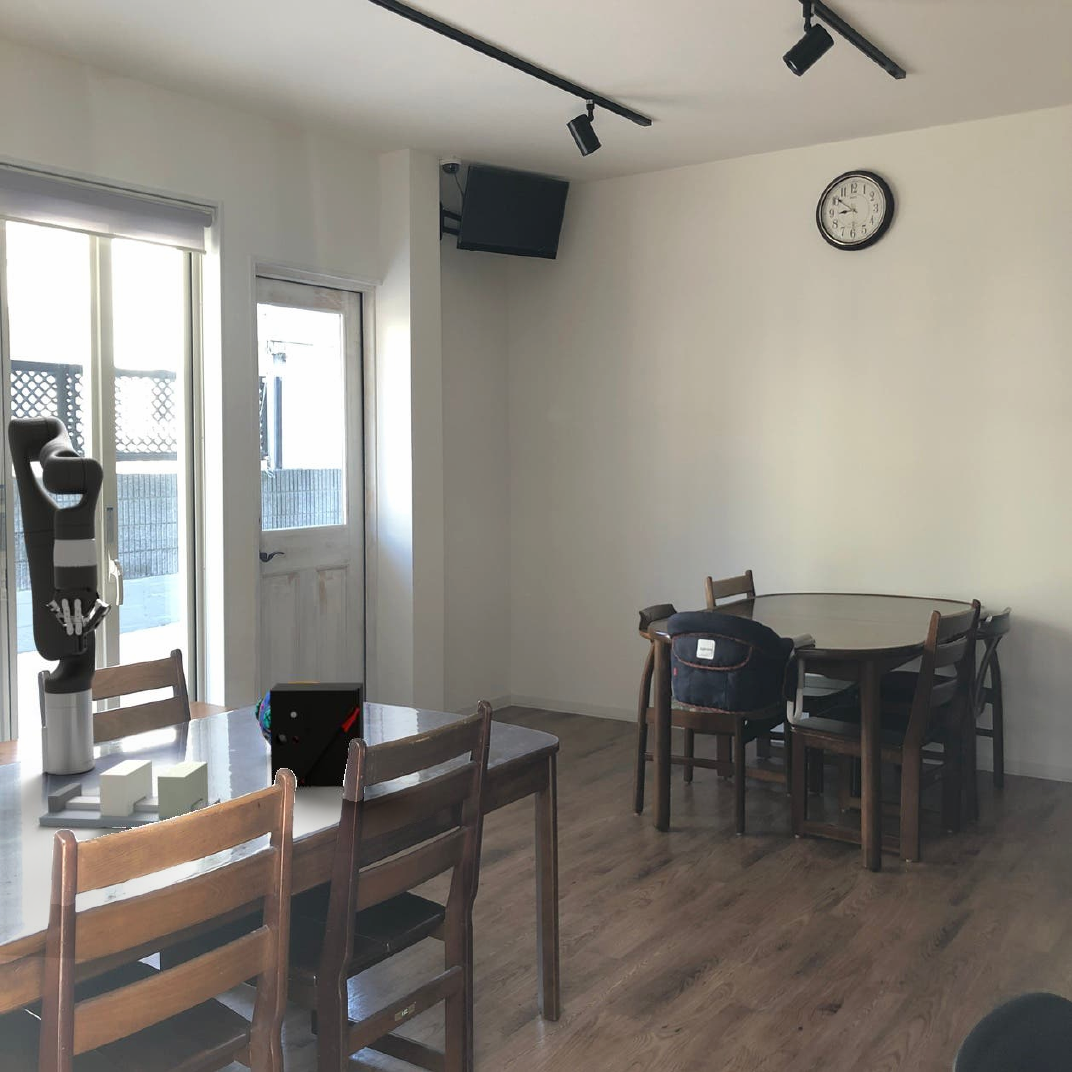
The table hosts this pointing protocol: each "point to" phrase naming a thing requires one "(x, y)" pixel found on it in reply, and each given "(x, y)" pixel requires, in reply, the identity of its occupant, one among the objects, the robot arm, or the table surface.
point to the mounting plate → (176, 797)
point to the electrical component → (314, 730)
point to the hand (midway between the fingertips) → (78, 653)
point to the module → (125, 787)
